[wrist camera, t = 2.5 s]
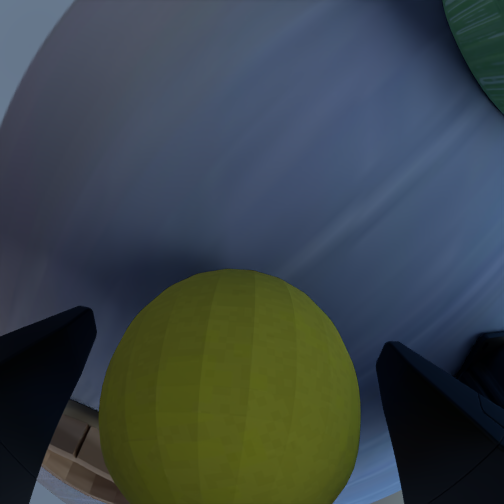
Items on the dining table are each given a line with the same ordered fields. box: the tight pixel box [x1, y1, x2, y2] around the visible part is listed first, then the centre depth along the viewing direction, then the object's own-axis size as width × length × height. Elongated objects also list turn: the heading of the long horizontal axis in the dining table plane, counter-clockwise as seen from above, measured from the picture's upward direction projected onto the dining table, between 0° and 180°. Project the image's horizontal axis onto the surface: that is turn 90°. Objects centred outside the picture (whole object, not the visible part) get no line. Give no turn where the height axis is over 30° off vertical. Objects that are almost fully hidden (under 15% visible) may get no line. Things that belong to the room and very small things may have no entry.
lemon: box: [99, 269, 361, 504], centre depth 6 cm, size 6×6×8 cm
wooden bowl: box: [41, 400, 130, 504], centre depth 13 cm, size 11×11×3 cm
